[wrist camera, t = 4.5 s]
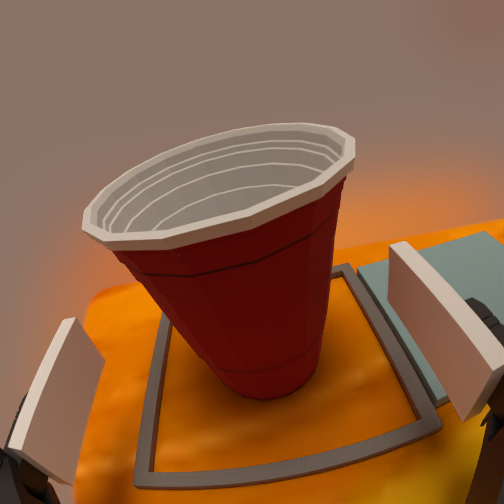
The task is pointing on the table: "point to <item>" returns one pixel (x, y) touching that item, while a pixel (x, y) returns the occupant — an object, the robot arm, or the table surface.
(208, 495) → the table surface
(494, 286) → the pad
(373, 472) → the table surface
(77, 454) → the robot arm
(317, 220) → the plastic cup
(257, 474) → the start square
